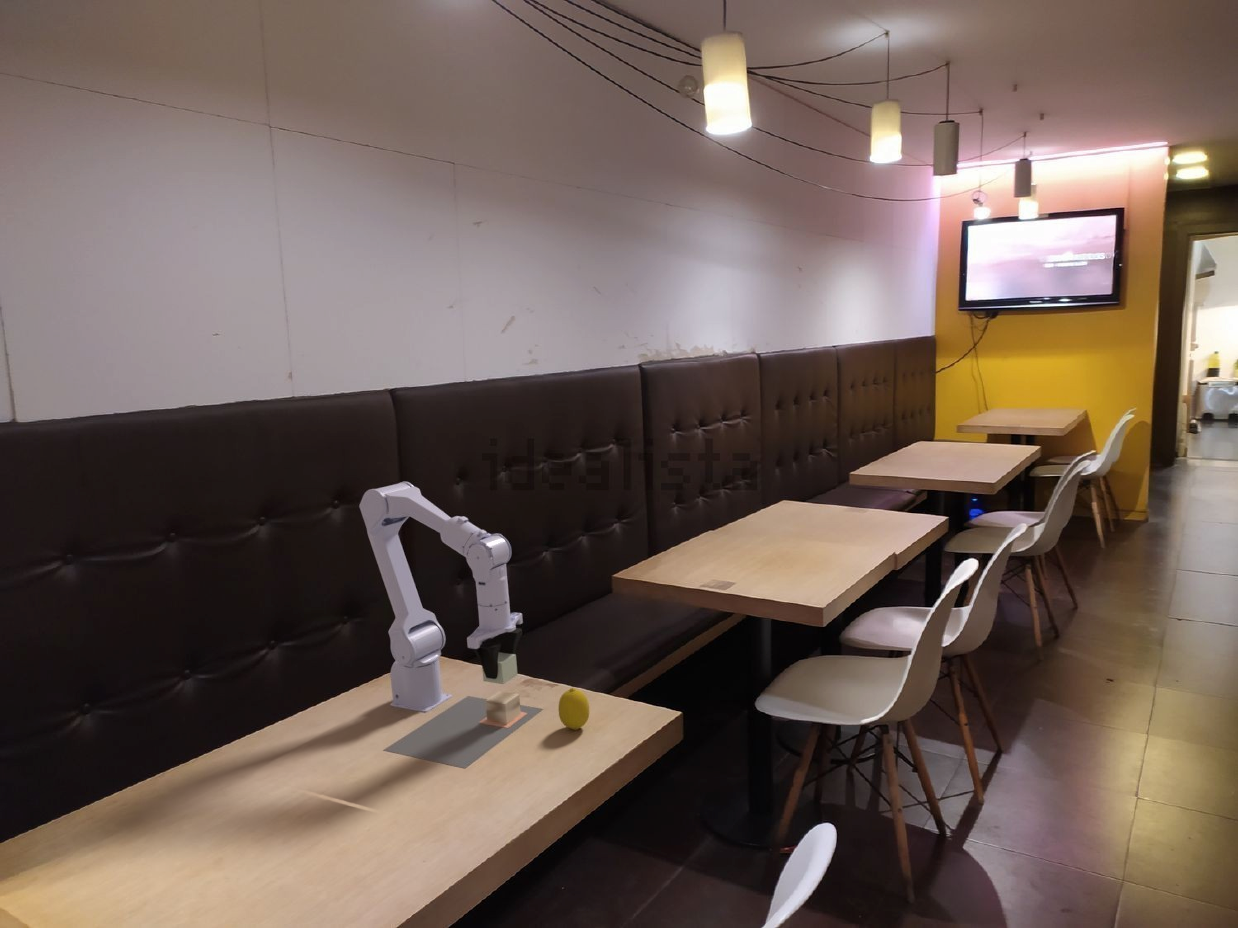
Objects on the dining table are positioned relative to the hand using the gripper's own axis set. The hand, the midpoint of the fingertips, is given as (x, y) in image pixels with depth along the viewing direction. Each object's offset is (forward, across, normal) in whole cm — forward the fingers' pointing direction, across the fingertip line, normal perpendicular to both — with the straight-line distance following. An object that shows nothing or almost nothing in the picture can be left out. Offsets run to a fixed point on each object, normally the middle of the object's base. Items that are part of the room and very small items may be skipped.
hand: (499, 672), depth 155 cm
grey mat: (+9, -6, +4) cm, 12 cm away
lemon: (+10, +1, -15) cm, 18 cm away
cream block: (+9, 0, 0) cm, 9 cm away
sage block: (+1, 0, 0) cm, 1 cm away
